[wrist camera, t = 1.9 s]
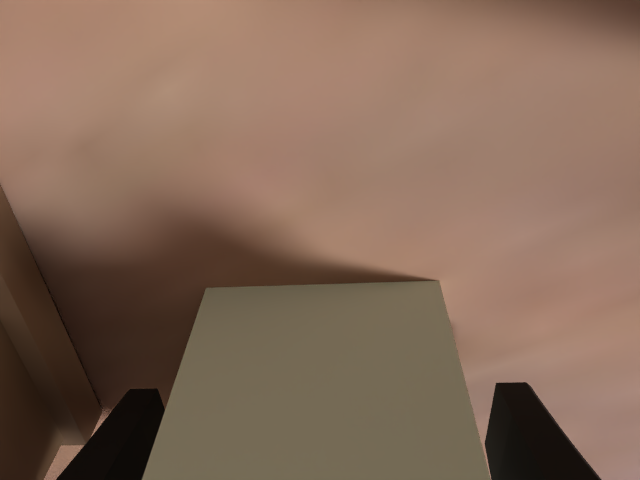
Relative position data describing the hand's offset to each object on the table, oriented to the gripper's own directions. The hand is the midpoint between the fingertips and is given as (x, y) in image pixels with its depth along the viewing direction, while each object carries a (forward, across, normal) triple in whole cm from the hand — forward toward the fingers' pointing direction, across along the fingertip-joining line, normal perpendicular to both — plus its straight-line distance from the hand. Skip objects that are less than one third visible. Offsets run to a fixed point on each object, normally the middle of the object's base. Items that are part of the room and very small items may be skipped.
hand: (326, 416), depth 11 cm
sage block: (+2, 0, 0) cm, 2 cm away
